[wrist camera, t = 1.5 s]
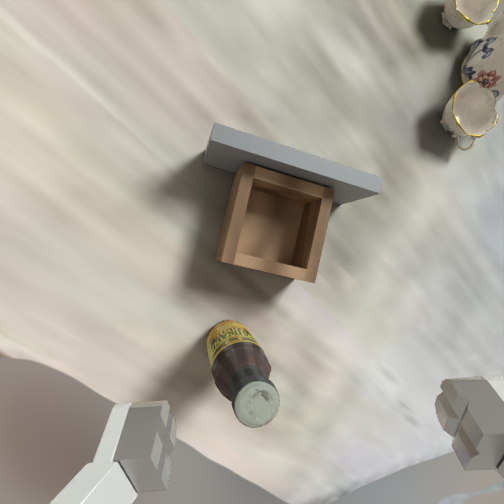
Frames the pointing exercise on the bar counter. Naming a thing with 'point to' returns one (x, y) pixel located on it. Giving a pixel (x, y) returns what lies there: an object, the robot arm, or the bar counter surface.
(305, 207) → the wooden box
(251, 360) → the sauce bottle
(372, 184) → the backstop wall
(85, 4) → the bar counter surface
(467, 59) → the chinaware
